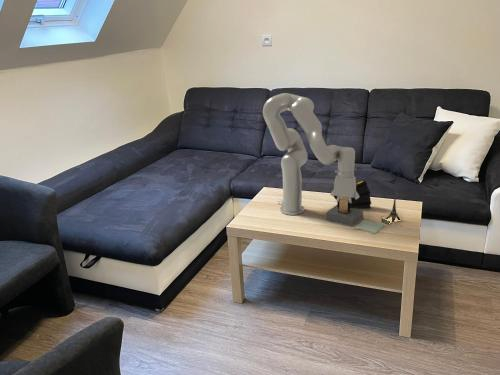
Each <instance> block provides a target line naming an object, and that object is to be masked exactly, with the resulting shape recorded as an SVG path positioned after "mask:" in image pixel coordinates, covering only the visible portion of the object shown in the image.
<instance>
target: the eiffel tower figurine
mask: <svg viewBox="0 0 500 375" xmlns="http://www.w3.org/2000/svg"><path fill="white" fill-rule="evenodd" d="M396 198H397V197H396V196H394V197H393V205H392V209H391V211H390V213H389V214H388V215H387V217H385V218H386V219H388V218H390V217H392V222H391V223H393V222H394V220H395V218H397V219H398V220H401V218H400V217H399V215H398V213H397V207H396V205H397V203H396V200H397V199H396ZM380 222H381V224H383V225H390V226H391V223H390V221H387V220H385V219H383V218H382V217H381V221H380ZM389 223H390V224H389ZM394 223H395V222H394ZM401 227H404V226H403V225H401Z"/></svg>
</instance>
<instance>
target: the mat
mask: <svg viewBox="0 0 500 375" xmlns="http://www.w3.org/2000/svg"><path fill="white" fill-rule="evenodd" d="M384 226H385V224H384V223H378V222H373V221H369V220H366V219H364V220H362V221H361V222H360V223H358V225H356V226H355V227H354V229H355V230H356V229H357V230H361V231H363V232H369V233H372V234H374V235H375V234H377V233H378V232H379V231H380V230H381V229H382V228H383V227H384Z"/></svg>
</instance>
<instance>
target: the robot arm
mask: <svg viewBox="0 0 500 375" xmlns="http://www.w3.org/2000/svg"><path fill="white" fill-rule="evenodd" d="M314 109H315V105H314V102H313V100H312V99H310V98H309V97H304V96H300V95H297V94H293V93H288V92H283V93H280V94H276V95H274V96H272V97H270V98H268V99H267V100H266V101H265V103H264V105H263V108H262V116H263V118H264V121H265V124H266V126H267V128H268V130H269V132H270V135H271V137H272V139H273V142H274V144H275V146H276V148H277V150H279V151H281V152H285V151H287V152H286V153H285V154H283V156H282V158H281V161H280V166H281V172H282V199H278V201H277V205H280V206H281V207H280V212H281V213H282V214H284V215H287V216H297V215H301V214H303V213H304V212H305V211H306V210H305V207H304V206H303V205H302V197H303V195H302V193H303V191H302V189H303V188H302V187H303V186H302V182H303V181H302V180H303V179H302V178H303V177H302V172H301V167H302V166H304V165H305V164H306V162H307V161H308V158H309V157H308V152H307V150H306V146H305V145H304V142H303V140H302V138H301V136H300V133H299V132H298V131H297V130H296V129H294V128H292V127H290V128H288V127H287V125H286V122H285V119H284V118H283V117H282V116H281V114H282V113H283V112H285V111H288V112H291V114H292V116H293V117H294V118H295V120H296V121H297V123H298V124H299V126H300V127H301V129H302V130H303V131H304V134H305V135H306V137H307V142H308V143H309V144H308V145H309V148H310V149H311V151H312V153H313V154H314V156H315V157H316V159H317V160H318V161H319V162H320V163H321V164H323V165H325V166H329V165H332V164H333V163H334V162H336V161H337V169H335V170H334V173H336V176H335V179H334V183H333V189H332V190H331V192H330V196H332V197H333V198H334V199H335V201H336V202H337V204H336V205H337V207H338V209H339V202H340V198H341V197H346V198H349V202H348V211H349V210H350V209H351V207H352V202H353V201H354V200H355V199H358V198H359V197H360V196H359V194H358V193H357V191H356V182H357V181H356V179H357V178H356V176H355V160H356V151H355V148H353V147H351V146H350V147H349V146H340V145H337V144H336V145H335V144H330V145H327V144H326V142H325V141H324V140H325V139H324V137H323V134H322V133H323V132H322V131H323V128H322V127H323V126H322V123H321V121H320V120H319V119H318V117H317V115H315V113H314ZM354 196H355V197H354Z"/></svg>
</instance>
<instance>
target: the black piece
mask: <svg viewBox="0 0 500 375" xmlns="http://www.w3.org/2000/svg"><path fill="white" fill-rule="evenodd" d="M356 191H357V193H358V194H359V196H360V197H359V198H358V199H355V200H354V201H353V202H352V207H351V208H355V209H371V205H372V200H371V196H370V194H371V191H370V189H369V186H368V183H367V181H366V180H365V179H361V180H359V181H356ZM354 197H355V196H354Z"/></svg>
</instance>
